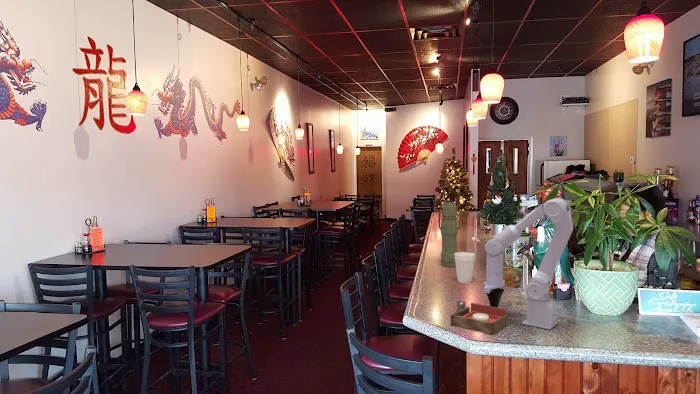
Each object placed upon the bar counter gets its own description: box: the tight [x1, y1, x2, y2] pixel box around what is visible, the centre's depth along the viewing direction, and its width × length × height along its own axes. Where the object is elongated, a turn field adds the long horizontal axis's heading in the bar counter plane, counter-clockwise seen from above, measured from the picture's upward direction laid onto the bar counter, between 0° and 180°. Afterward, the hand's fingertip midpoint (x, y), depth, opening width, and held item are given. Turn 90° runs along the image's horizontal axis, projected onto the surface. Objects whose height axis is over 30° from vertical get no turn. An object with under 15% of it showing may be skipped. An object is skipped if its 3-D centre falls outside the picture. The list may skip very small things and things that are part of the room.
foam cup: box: [455, 251, 476, 284], centre depth 228 cm, size 10×9×13 cm
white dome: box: [473, 313, 489, 322], centre depth 167 cm, size 5×5×2 cm
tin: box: [503, 266, 523, 288], centre depth 221 cm, size 15×3×8 cm, turn 45°
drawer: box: [462, 302, 507, 323], centre depth 167 cm, size 13×12×5 cm
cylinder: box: [456, 300, 467, 312], centre depth 182 cm, size 3×3×4 cm
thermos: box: [437, 201, 462, 268], centre depth 263 cm, size 9×12×35 cm
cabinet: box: [450, 306, 509, 335], centre depth 166 cm, size 15×12×4 cm
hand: (494, 308), depth 175 cm, fingers closed
